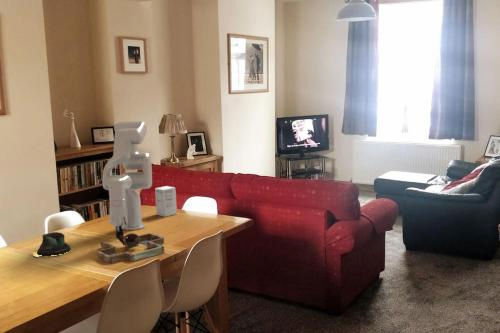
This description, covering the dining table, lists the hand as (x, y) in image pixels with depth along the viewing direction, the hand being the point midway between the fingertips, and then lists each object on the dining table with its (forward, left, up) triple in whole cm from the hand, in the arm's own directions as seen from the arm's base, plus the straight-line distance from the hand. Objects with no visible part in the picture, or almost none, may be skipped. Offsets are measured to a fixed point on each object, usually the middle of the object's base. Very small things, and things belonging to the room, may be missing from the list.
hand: (120, 238), depth 261 cm
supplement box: (-36, +52, -4) cm, 63 cm away
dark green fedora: (-15, -28, -4) cm, 32 cm away
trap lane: (+11, 0, -4) cm, 12 cm away
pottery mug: (+7, +1, -4) cm, 8 cm away
